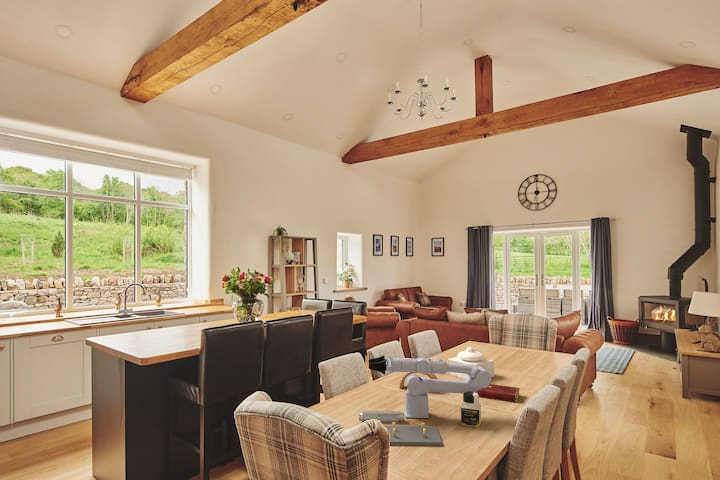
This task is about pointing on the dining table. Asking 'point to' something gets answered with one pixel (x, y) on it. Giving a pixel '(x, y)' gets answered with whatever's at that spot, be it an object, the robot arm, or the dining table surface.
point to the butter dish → (472, 361)
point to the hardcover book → (499, 392)
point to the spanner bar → (382, 416)
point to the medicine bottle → (471, 409)
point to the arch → (416, 372)
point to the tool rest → (414, 435)
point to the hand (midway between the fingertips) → (368, 364)
